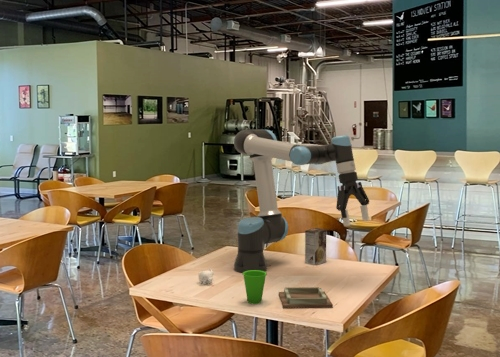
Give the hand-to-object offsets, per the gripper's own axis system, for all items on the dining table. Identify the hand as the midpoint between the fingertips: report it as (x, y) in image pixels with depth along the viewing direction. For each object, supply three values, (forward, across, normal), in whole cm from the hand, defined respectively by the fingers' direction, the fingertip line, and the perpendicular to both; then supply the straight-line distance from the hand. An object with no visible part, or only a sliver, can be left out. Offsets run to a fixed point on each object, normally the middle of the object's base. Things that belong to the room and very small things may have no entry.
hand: (356, 223), depth 228 cm
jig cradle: (+24, -33, +7) cm, 41 cm away
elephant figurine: (+14, -44, +49) cm, 68 cm away
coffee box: (+18, +16, +40) cm, 47 cm away
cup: (+21, -47, +19) cm, 55 cm away
